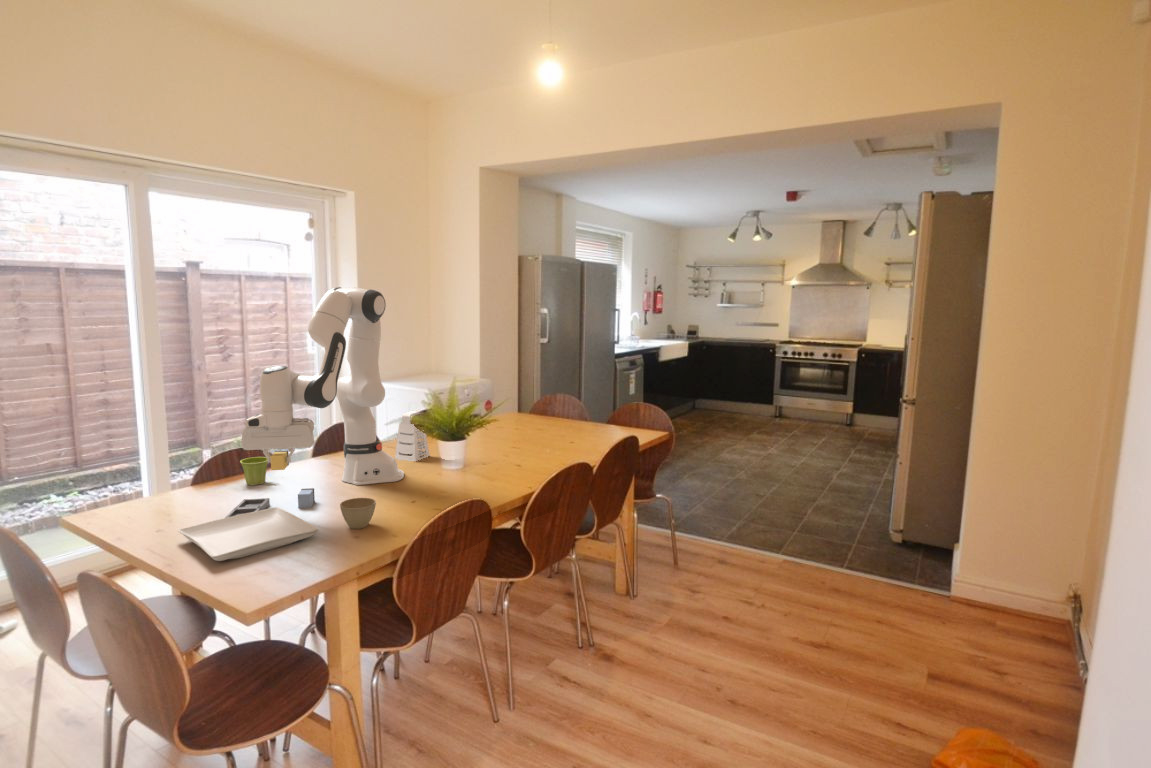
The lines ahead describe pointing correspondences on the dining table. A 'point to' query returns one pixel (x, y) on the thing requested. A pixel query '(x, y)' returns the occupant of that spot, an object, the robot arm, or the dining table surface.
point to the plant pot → (254, 469)
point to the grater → (410, 440)
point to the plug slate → (306, 498)
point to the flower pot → (358, 511)
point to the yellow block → (279, 460)
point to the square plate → (248, 533)
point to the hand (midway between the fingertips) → (279, 462)
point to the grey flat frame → (249, 506)
